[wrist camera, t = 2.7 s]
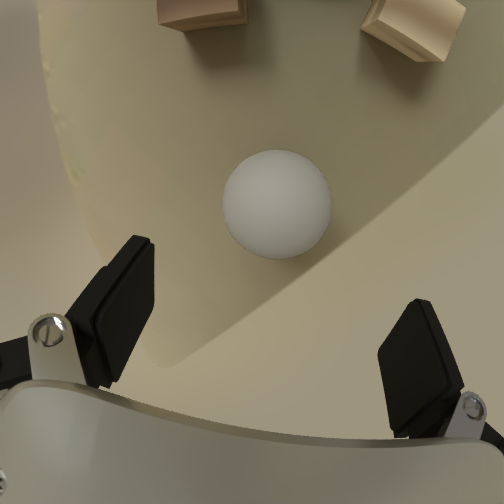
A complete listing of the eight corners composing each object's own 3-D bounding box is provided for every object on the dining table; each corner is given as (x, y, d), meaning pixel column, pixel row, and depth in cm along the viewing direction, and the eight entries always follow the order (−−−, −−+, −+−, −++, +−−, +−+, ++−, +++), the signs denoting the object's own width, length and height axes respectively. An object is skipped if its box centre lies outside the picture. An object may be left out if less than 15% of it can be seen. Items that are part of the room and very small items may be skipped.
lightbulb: (236, 131, 22) (198, 177, 13) (315, 123, 21) (337, 163, 12) (248, 201, 26) (224, 284, 17) (321, 195, 25) (339, 278, 16)
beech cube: (381, -17, 14) (402, -35, 10) (435, 16, 15) (466, 8, 11) (359, 29, 17) (377, 19, 13) (415, 61, 17) (444, 61, 13)
